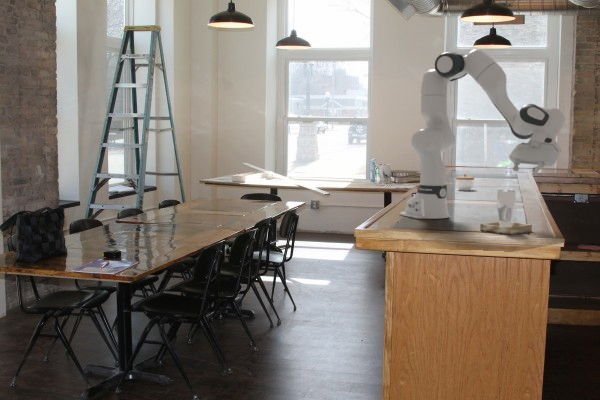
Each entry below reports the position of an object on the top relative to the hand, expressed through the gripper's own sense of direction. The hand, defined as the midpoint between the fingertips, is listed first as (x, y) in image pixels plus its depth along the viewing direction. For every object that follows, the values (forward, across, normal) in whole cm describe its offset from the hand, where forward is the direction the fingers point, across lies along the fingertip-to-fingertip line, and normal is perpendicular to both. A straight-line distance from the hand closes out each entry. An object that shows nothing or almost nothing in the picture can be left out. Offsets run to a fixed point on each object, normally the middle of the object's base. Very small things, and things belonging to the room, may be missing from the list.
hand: (524, 171), depth 295 cm
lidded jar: (-39, -115, +85) cm, 148 cm away
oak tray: (+26, +4, +4) cm, 26 cm away
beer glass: (+25, +3, +3) cm, 26 cm away
